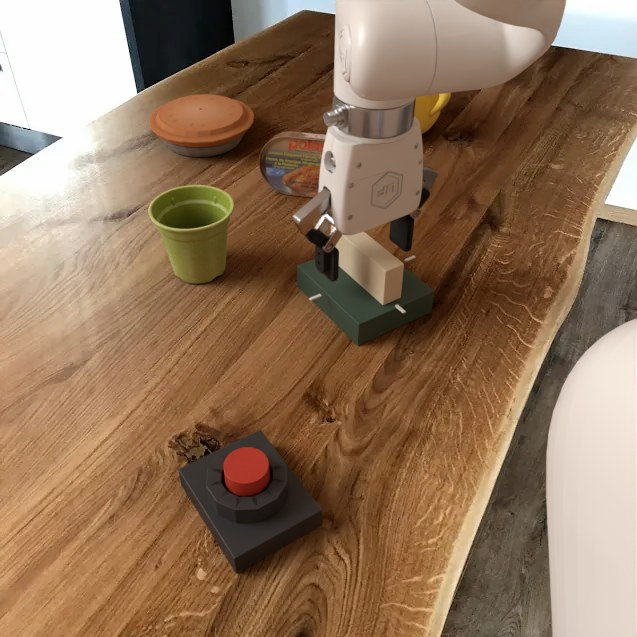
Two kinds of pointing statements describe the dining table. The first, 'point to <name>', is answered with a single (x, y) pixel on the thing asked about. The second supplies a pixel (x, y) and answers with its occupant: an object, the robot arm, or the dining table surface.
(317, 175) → the tin
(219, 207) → the plant pot
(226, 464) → the button
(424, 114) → the teapot
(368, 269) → the beige rectangular block
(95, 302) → the dining table surface
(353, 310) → the dial base
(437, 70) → the robot arm
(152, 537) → the dining table surface
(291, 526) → the control block
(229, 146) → the pie
